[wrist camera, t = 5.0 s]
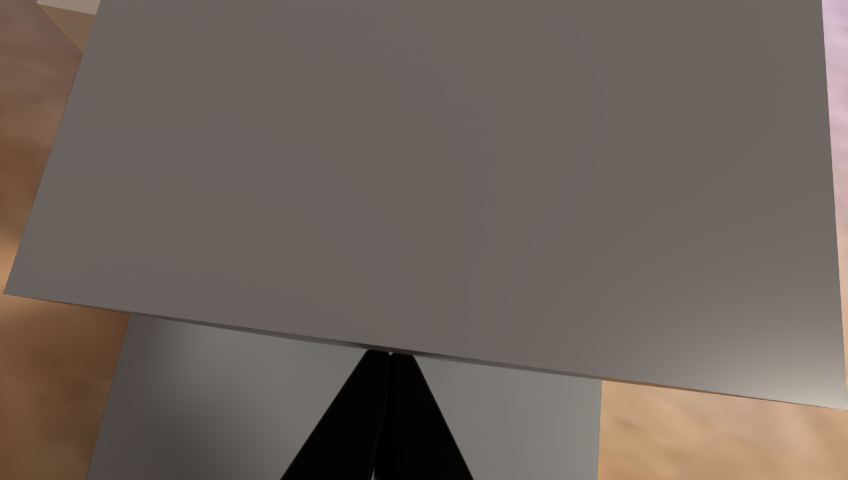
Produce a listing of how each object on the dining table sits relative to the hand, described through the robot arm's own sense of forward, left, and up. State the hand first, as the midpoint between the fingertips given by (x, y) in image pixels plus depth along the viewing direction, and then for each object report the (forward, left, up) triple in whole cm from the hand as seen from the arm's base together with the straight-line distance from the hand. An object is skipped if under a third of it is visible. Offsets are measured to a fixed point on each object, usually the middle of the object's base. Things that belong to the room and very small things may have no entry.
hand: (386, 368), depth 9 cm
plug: (+2, +2, -6) cm, 6 cm away
